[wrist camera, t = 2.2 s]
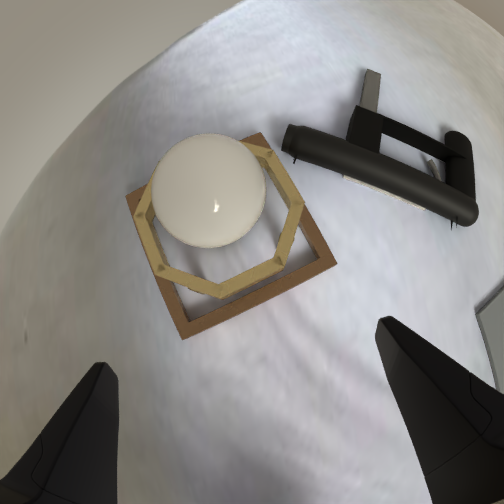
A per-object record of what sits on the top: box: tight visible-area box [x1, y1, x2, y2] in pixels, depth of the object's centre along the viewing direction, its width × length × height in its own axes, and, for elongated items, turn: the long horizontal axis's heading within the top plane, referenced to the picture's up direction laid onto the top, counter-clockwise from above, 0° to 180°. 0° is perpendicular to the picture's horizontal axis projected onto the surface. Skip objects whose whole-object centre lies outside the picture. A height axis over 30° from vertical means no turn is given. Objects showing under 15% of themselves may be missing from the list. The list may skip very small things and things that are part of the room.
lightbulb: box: [151, 133, 266, 248], centre depth 18 cm, size 6×6×11 cm
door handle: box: [281, 69, 479, 230], centre depth 25 cm, size 3×20×16 cm
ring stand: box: [126, 132, 337, 340], centre depth 21 cm, size 13×13×5 cm
